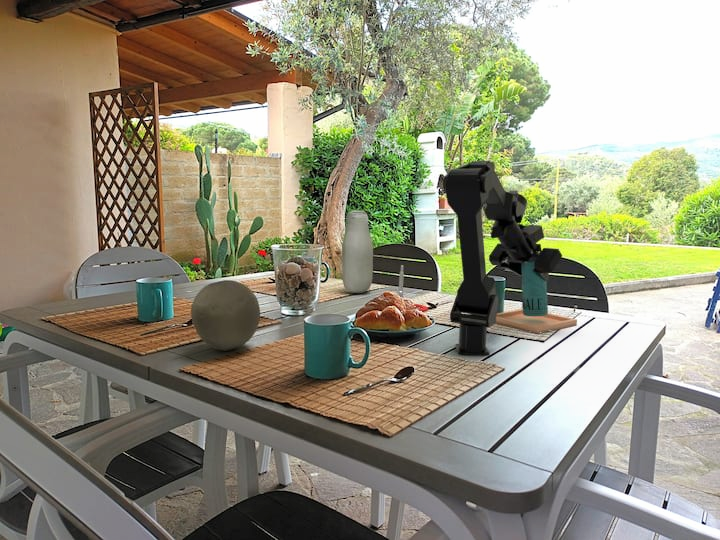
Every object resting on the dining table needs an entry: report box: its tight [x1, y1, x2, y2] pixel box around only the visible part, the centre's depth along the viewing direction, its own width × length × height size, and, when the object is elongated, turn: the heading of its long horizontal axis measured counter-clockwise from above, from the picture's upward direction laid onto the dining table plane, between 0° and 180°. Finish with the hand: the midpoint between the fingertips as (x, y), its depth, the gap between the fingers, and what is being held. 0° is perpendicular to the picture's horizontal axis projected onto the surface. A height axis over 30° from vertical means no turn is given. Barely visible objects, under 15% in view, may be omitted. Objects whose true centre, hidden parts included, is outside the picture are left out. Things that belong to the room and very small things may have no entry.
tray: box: [495, 308, 578, 334], centre depth 137 cm, size 16×16×2 cm
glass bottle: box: [341, 209, 374, 294], centre depth 175 cm, size 10×10×28 cm
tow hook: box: [397, 264, 429, 313], centre depth 151 cm, size 8×13×9 cm
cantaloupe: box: [190, 279, 261, 352], centre depth 110 cm, size 14×14×15 cm
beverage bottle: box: [520, 243, 549, 316], centre depth 135 cm, size 6×7×20 cm
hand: (536, 278), depth 136 cm, fingers closed on beverage bottle, 6 cm apart
